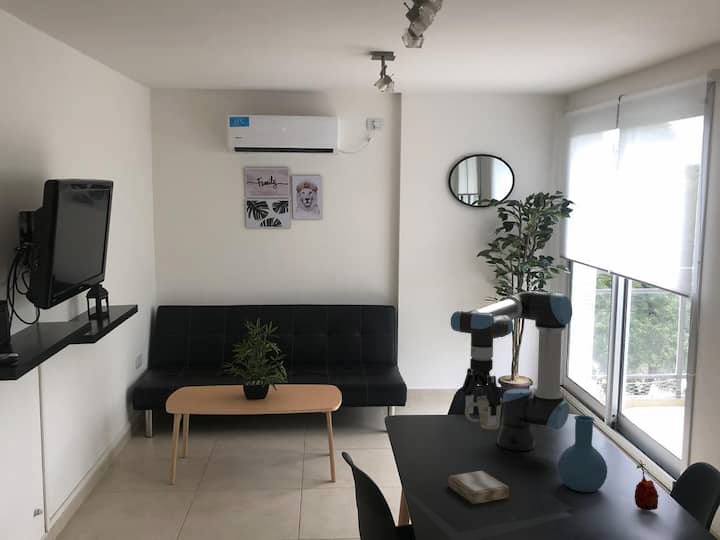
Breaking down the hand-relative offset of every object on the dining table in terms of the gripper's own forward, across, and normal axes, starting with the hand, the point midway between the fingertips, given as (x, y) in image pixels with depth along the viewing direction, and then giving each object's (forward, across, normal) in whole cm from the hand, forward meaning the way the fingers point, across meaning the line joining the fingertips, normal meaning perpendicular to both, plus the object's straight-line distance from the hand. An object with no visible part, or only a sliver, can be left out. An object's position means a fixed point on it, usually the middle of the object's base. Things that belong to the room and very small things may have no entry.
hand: (480, 419), depth 224 cm
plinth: (+26, 0, 0) cm, 26 cm away
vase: (+26, +10, +37) cm, 46 cm away
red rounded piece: (+26, +31, +45) cm, 60 cm away
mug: (+2, +2, 0) cm, 3 cm away
